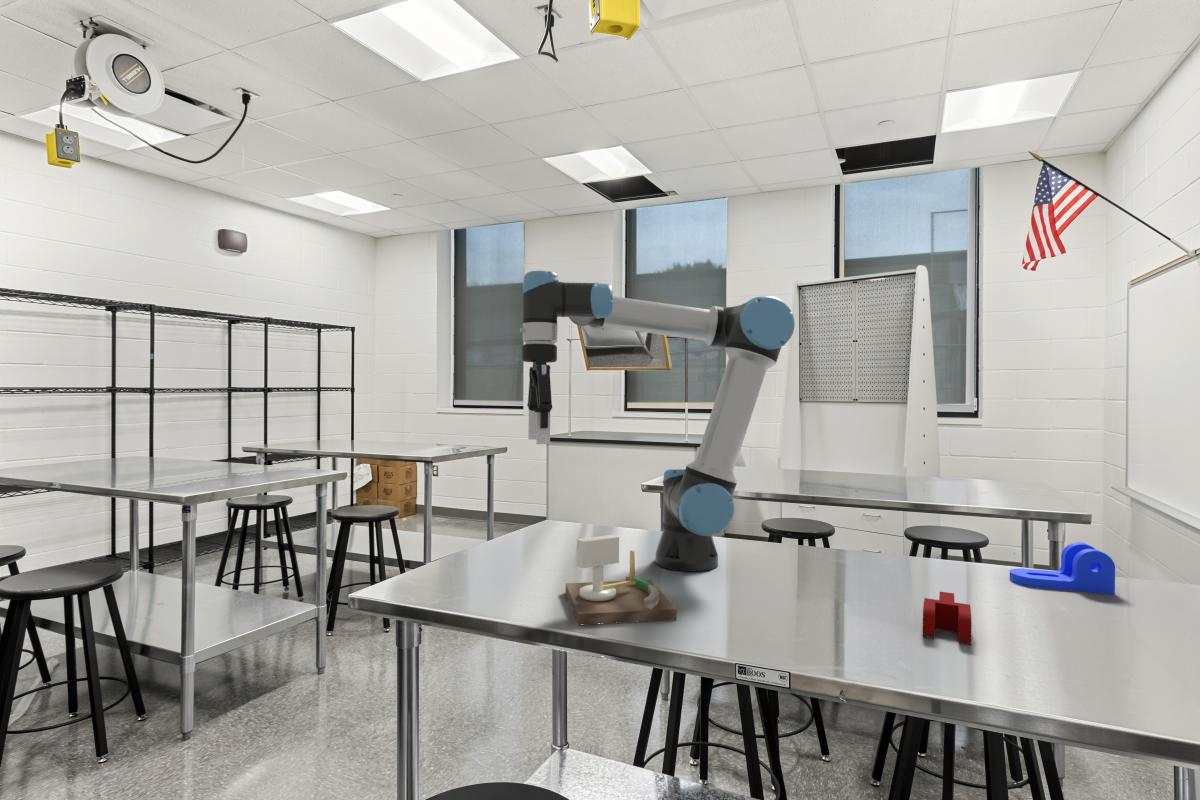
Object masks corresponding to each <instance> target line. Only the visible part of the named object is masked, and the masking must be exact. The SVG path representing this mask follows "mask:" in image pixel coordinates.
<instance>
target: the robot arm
mask: <svg viewBox="0 0 1200 800" xmlns="http://www.w3.org/2000/svg"><path fill="white" fill-rule="evenodd" d="M558 317H559V318H569V320H570V321H571V322H572V323H573V324H574V325H577V326H583V327H585V326H594V327H603V328H611V329H619V330H625V331H632V332H639V333H646V334H655V335H661V336H662V335H663V336H669V337H676V338H682V339H683V338H684V339H688V340H698V341H703V342H704V343H705V345H707V346H710V347H716V348H722V349H724V351H725V353H726V355H727V357H728V361H727V364H726V367H725V369H724V372H723V376H722V379H721V382H720V384H719V388H718V391H717V393H716V397H715V399H714V403H713V407H712V409H711V412H710V415H709V417H708V422H707V423H706V424H707V425H706V427H705V431H704V434H703V437H702V439H701V443H700V445H699V449H698V452H697V454H696V458H695V460H693V461H692V462H690V463H688V464H687V463H686V467H685V468H679V469H678V468H673V469H671V468H669V469H666V470H665V471H664V473H663V480H662V485H663V488H662V489H663V491H662V493H663V495H662V497H663V498H662V501H663V503H662V506H663V507H662V532H661V536H660V539H659V542H658V545H657V548H656V551H655V560H654V561H655V564H656V565H657V566H659V567H661V568H664V569H669V570H672V571H673V570H674V571H679V572H680V571H681V572H702V571H709V570H713V569H715V568H717V567H718V566H719V554H718V551H717V547H716V544H715V541H714V538H713V536H715V535H717V534H719V533H721V532H723V531H724V530H726V529H727V528H728V526H729V525H730V524H731V522H732V520H733V518H734V515H735V503H734V498H733V496H734V493H735V491H736V488H737V483H738V481H737V479H736V477H735V474H734V470H735V467H736V464H737V461H738V458H739V457H740V456H739V455H740V452H741V449H742V446H743V443H744V439H745V436H746V434H747V430H748V427H749V425H750V421H751V419H752V415H753V412H754V408H755V406H756V402H757V401H758V400H757V399H758V397H759V394H760V391H761V388H762V384H763V382H764V379H765V376H766V374H767V373H766V372H767V371H768V370H769V369H770V368H772V367H774V366H776V364H777V362H778V359H779V355H780V352H781V350H782V347H784V346H785V345H786V344H787V343H789V341H790V340H791V338H792V337H793V334H794V331H795V323H796V322H795V318H794V314H793V312H792V311H791V309H790V307H789V306H788V304H787V303H785V302H784V301H783V300H781V299H780V298H778V297H776V296H772V295H771V296H770V295H764V296H763V295H762V296H757V297H756V296H755V297H753V298H751V299H749V300H747V301H745V302H744V303H742V304H739V305H734V306H719V305H713V306H711V307H710V308H708V309H707V308H701V307H693V306H685V305H681V304H680V305H678V304H671V303H665V302H657V301H649V300H643V299H635V298H628V297H621V296H614V292H613V287H612V285H611V284H609V283H600V282H564V281H559V277H558V274H557V273H555V272H554V271H550V270H548V271H546V270H532V271H528V272H526V273H525V274H524V276H523V284H522V327H520V328H519V332H520V333H522V342H524V344H523V345H521V347H522V348H521V349H522V350H521V356H522V357H521V359H522V361H523V362H524V363H532V366H530V367H529V369H528V370H529V373H528V377H529V381H528V396H527V409H528V435H527V438H528V440H529V441H530V440H535V441H536V442H535V443H536V445H550V444H551V411H552V409H553V403H552V386H551V385H552V383H551V366H550V365H551V364H549V363H555V362H557V361H558V347H557V345H556V343H557V342H558V325H559V324H558ZM547 363H548V364H547Z"/></svg>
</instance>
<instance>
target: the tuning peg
mask: <svg viewBox="0 0 1200 800" xmlns="http://www.w3.org/2000/svg"><path fill="white" fill-rule="evenodd" d="M635 551H636V550H633V549H631V550H629V575H630V581H626V580H623V581H624V582H619V583H613V584H607V585H603V582H604V566H607V565H608V566H609V565H615V564H619V562H620V537H619V536H617V535H614V534H608V535H600V536H592V537H591V536H590V537H586V538H585V537H584V538H578V539H577V538H576V566H577V567H579V568H582V569H588V568H592V582H593V585H587V586H584V587H582V588H580V597H581V598H583V599H585V600H590V601H606V600H611V599H613V598H615V597H616V589H615V588H616V587H622V586H627V585H633V584H635V576H636V575H635V574H636V570H635V569H636V552H635Z"/></svg>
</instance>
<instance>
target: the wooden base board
mask: <svg viewBox="0 0 1200 800" xmlns="http://www.w3.org/2000/svg"><path fill="white" fill-rule="evenodd" d="M624 581H630V574H628V575H627V576H626V577H625V580H612V581H611V580H610V581H603V585H607V584H613V583H619V582H624ZM587 585H593V581H588V582H585V581H584V582H566V583H565V596H566V598H567V597H568V598H567V601H568V603H569V602H570V603H569V605H570V604H571V605H570V608H571V607H572V608H571V610H572V609H573V610H572V612H574V613H573V615H574V614H575V615H574V617H575V620H576V619H577V620H576V622H577V621H578V622H577V624H579V625H578V626H581V625H580V624H595V625H602V624H601V623H613V624H620V623H619V622H631V623H638V622H637V621H648V622H664V621H677V617H678V616H677V615H678V614H677V609H678V608H677V607H675V605H674V604H673V603H672V602H671V601H670V600H669V599H668V597H667V596H666V595H665V594H664V593H663V592H662V590H661V589H660V588H659V587H658V586H657V584H655V583H654V581H653V580H652V579H646V578H643V577H640V576H637V575H635V584H633V585H627V586H622V587H616V588H615V589H616V597H615V598H613V599H611V600H606V601H590V600H585V599H583V598H581V597H580V588H582V587H584V586H587ZM616 622H617V623H616ZM598 623H600V624H598Z"/></svg>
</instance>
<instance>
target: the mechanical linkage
mask: <svg viewBox="0 0 1200 800" xmlns="http://www.w3.org/2000/svg"><path fill="white" fill-rule="evenodd" d="M922 606H923V607H922V637H925V638H932V639H935V637H936V636H935V635H936V633H935V632H936V630H938V631H945V632H950V633H954V634H955V633H956V634H957V637H958V638H957V642H958V643H962V644H966V645H972V613H971V604H969V603H961V602H955V593H953V592H946V591H939V599H933V598H927V597H924V598H923V605H922Z"/></svg>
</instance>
